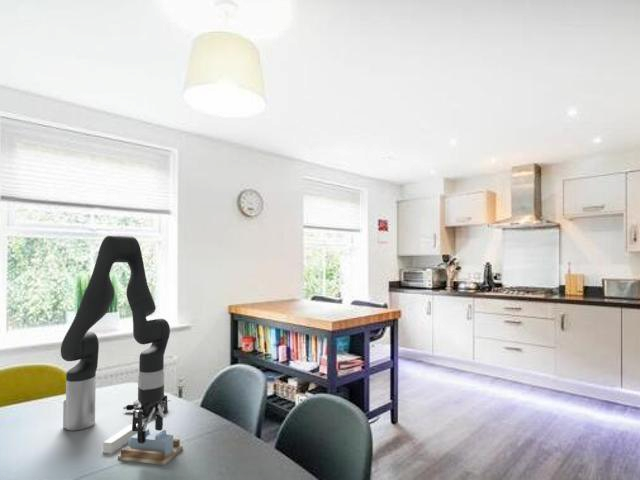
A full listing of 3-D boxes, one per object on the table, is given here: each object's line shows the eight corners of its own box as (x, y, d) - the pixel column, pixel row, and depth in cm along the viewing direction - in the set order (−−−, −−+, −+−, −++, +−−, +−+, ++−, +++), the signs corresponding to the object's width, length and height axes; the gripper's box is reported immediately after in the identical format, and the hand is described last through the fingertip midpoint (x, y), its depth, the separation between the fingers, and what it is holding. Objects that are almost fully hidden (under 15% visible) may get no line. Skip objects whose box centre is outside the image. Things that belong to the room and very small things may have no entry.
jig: (117, 459, 118) (117, 449, 118) (138, 444, 127) (138, 434, 127) (164, 465, 115) (164, 454, 115) (182, 448, 124) (182, 439, 124)
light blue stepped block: (125, 451, 121) (125, 432, 121) (134, 445, 125) (134, 427, 125) (165, 456, 118) (165, 437, 118) (173, 449, 122) (173, 431, 122)
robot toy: (120, 415, 152) (143, 421, 144) (120, 403, 153) (143, 409, 145) (149, 405, 163) (172, 410, 154) (149, 394, 163) (171, 398, 155)
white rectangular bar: (103, 453, 122) (103, 442, 122) (136, 430, 138) (136, 420, 138) (111, 454, 122) (111, 443, 122) (144, 431, 137) (144, 421, 137)
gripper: (154, 375, 129) (154, 425, 129) (125, 391, 116) (124, 446, 115) (175, 377, 128) (174, 427, 128) (147, 393, 114) (146, 449, 114)
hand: (150, 436), depth 121 cm, fingers open, 8 cm apart
